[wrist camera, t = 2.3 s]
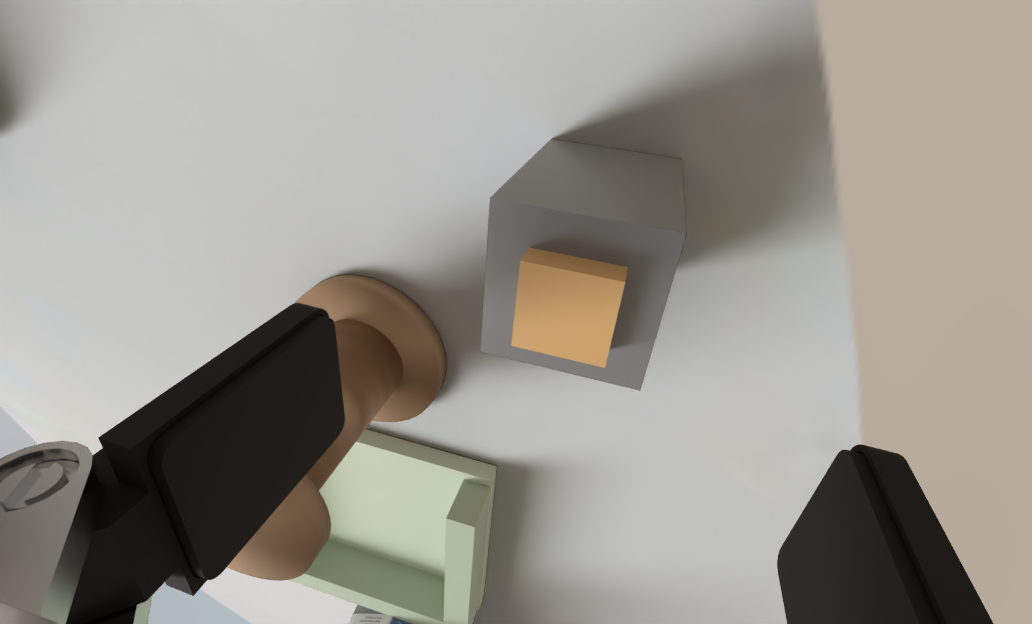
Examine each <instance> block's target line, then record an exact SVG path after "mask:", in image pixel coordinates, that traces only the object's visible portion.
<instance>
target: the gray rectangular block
mask: <svg viewBox="0 0 1032 624" xmlns="http://www.w3.org/2000/svg"><path fill="white" fill-rule="evenodd" d="M685 237H686V218H685V202H684V186H683V170H682V159H678V158H672V157H666V156H659V155H653V154H646V153H640V152H633V151H627V150H620V149H614V148H608V147H601V146H595V145H588V144H582V143H575V142H569V141H563V140H556V139H551V140H550V141H549V142H548V143H546V144H545V145H544V146H543V147H542V148H541V149H540V150H539V151H538V152H537V153H536V154H535V155H534V156H533V157H532V158H531V159H530V160H529V161H528V162H527V163H526V164H525V165H524V166H523V167H522V168H521V169H520V170H518V171H517V172H516V173H515V174H514V175H513V176H512V177H511V178H510V179H509V180H508V181H507V182H506V183H505V184H504V185H503V186H502V187H501V188H500V189H499V190H498V191H497V192H496V193H495V194H494V195H493V196H492V197H491V198H490V208H489V223H488V239H487V254H486V270H485V285H484V301H483V316H482V332H481V347H480V352H483V353H487V354H491V355H495V356H499V357H504V358H508V359H512V360H516V361H520V362H524V363H528V364H532V365H537V366H541V367H545V368H549V369H553V370H557V371H561V372H565V373H570V374H574V375H578V376H582V377H586V378H590V379H594V380H598V381H603V382H607V383H611V384H615V385H619V386H623V387H627V388H631V389H636V390H641V387H642V383H643V380H644V376H645V373H646V370H647V366H648V363H649V359H650V356H651V353H652V349H653V346H654V342H655V339H656V336H657V332H658V329H659V325H660V322H661V319H662V315H663V312H664V308H665V305H666V302H667V298H668V295H669V291H670V288H671V285H672V281H673V278H674V274H675V271H676V268H677V264H678V261H679V257H680V254H681V251H682V247H683V244H684V240H685Z"/></svg>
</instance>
